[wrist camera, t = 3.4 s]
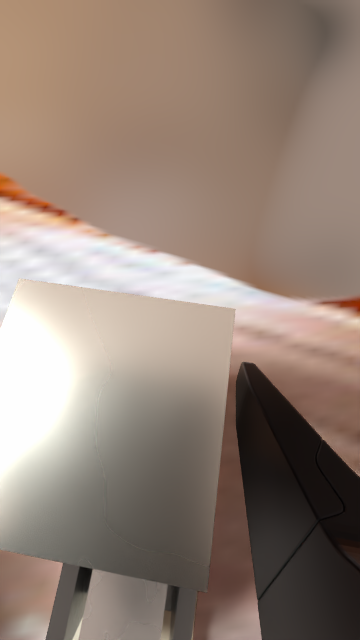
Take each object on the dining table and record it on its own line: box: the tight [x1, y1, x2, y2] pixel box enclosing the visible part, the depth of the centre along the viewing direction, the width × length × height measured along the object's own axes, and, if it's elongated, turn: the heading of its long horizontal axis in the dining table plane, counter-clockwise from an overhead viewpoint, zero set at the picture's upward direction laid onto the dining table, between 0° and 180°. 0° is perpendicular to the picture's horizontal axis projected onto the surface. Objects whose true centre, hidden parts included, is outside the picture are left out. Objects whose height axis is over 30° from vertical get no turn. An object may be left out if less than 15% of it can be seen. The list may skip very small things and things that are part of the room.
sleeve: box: [46, 563, 197, 640], centre depth 12 cm, size 11×5×4 cm, turn 171°
